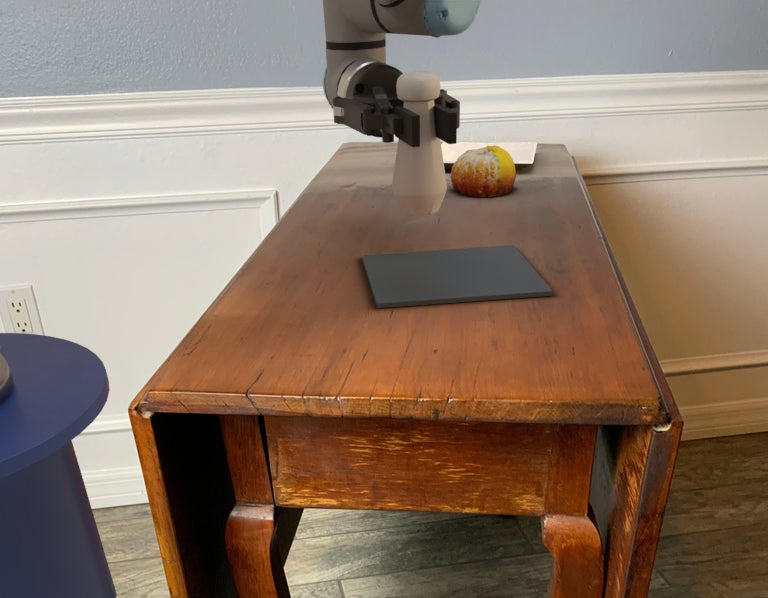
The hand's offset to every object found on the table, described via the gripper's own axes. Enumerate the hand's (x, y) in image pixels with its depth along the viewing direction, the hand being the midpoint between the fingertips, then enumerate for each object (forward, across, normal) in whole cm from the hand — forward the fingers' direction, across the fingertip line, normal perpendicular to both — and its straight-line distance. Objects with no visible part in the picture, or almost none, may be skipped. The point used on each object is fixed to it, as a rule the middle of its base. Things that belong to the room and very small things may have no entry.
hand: (434, 129), depth 75 cm
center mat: (-11, -6, -18) cm, 22 cm away
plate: (-71, -32, -19) cm, 81 cm away
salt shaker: (-5, 0, -9) cm, 10 cm away
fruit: (-51, -24, -19) cm, 60 cm away
